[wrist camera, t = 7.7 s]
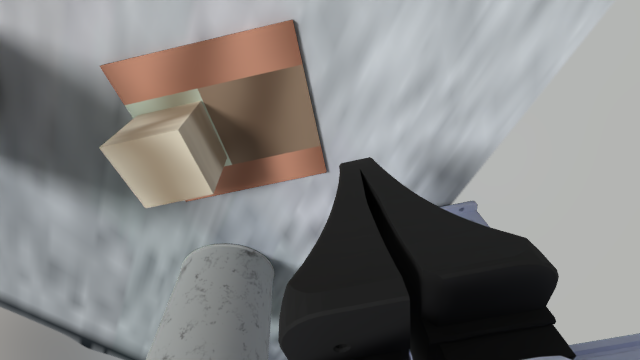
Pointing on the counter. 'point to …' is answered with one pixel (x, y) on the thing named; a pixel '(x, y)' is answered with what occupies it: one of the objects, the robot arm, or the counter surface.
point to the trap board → (235, 101)
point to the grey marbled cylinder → (218, 307)
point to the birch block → (168, 155)
